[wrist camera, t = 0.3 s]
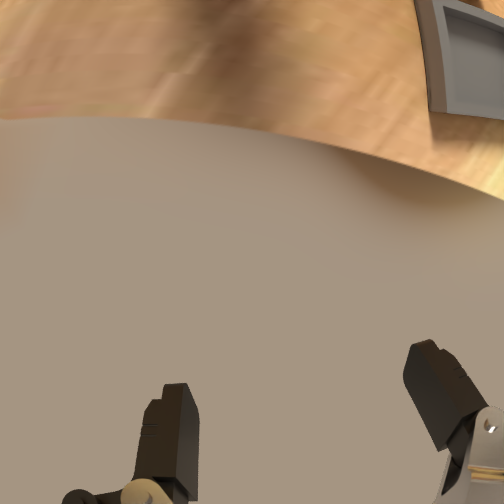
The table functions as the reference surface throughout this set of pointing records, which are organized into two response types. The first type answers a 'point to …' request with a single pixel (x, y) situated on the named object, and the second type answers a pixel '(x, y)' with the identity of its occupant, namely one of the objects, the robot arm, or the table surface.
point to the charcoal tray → (462, 58)
